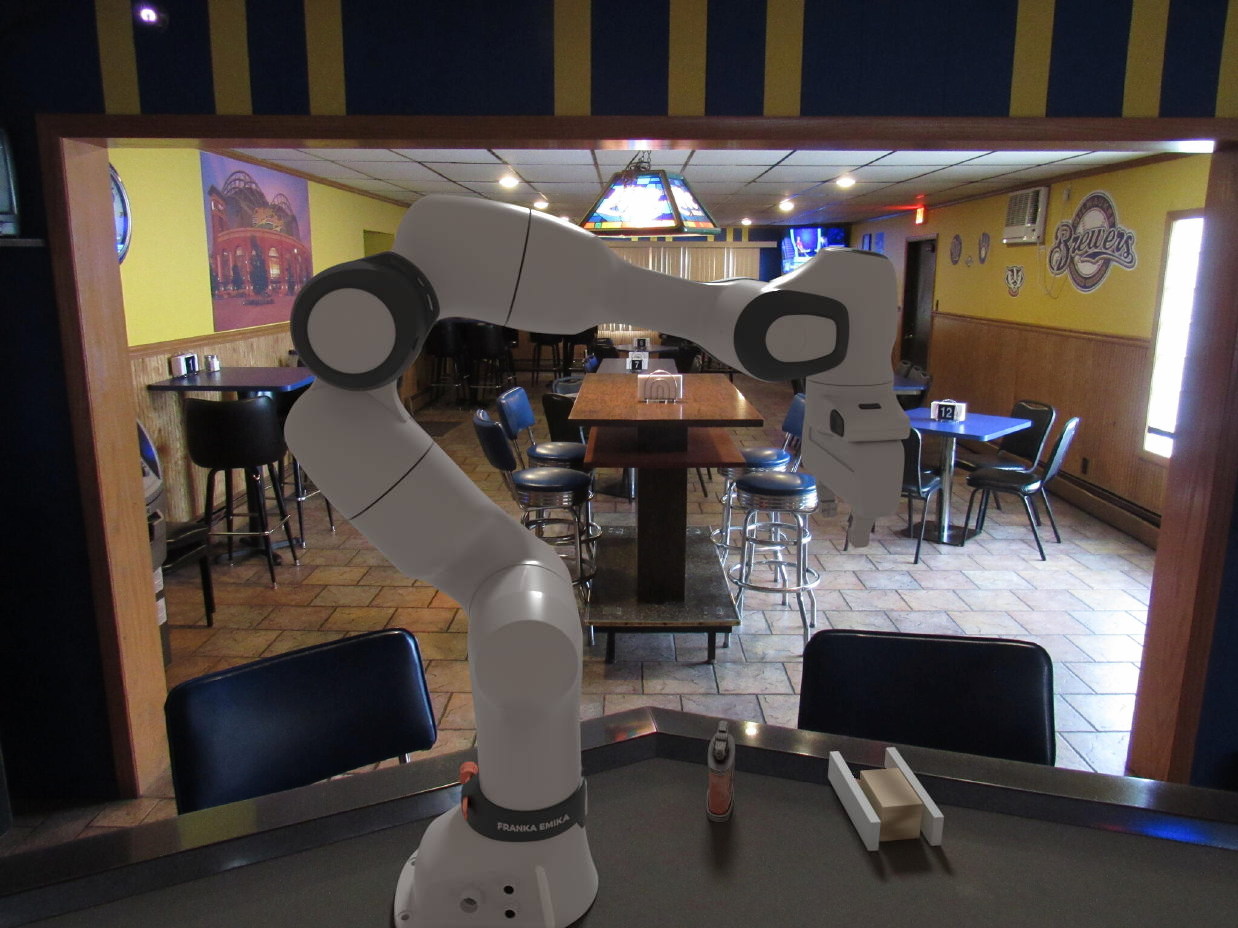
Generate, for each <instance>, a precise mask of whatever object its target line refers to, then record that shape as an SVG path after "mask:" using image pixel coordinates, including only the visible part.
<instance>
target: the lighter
mask: <svg viewBox="0 0 1238 928" xmlns="http://www.w3.org/2000/svg"><path fill="white" fill-rule="evenodd" d="M707 749H708V750H707V751H708V752H707V765H708V790H707V791H706V793H707V794H706V812H707V813H706V814H707V817H708V818H709V819H710V820H712V821H714V822H718V823H721V822H725V821H727V820H728V819H729V818H730V814H731V812H732V810H733V804H734V785H733V781H734V777H735V758H736V744H735V739H734V736H733V735H732V734H730V733H729V722H727V720H720V721H719V722H718V729H717V732H716V733H715V734H714V735H713V736H712V738H711V740H710V742H709V746H708V748H707Z"/></svg>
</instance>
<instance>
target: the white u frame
mask: <svg viewBox="0 0 1238 928" xmlns="http://www.w3.org/2000/svg"><path fill="white" fill-rule="evenodd" d="M884 754H885V755H884V765H883V767H884V766H885V768H886V769H890V768H898V769H899V770H900V772H901V773H902V774H903V776H904V777H905V779H906V780H907V782H908V783H909V784H910V786H911V787H912V789H913V790H914V792H915V793H916V794H917V796H918V797H919V799H920V800H921V802H922V803H923V809H922V818H921V827H920V832H921V833H922V834H923V836H924V837H925V839H926V840H927V841H928V844H929V845H930V847H934V846H941V844H942V838H943V837H942V836H943V828H944V819H945V815H943V813H942V812H941V810H940V809H939V807H938V806H937V805H936V804H935V802H934V800H933V799H932V798H931V796H930V795H929V793H928V792H927V791H926V789H925V788H924V787H923V785H922V783H921V782H920V781H919V779H918V778H917V777H916V775H915V774H914V772H913V771H912V769H911V768H910V767H909V765H908V764H907V763H906V761H905V760H904V759H903V756H901V754H900V752H899V751H898V749H897V748H896V747H895V746H893V747H886V748H885V753H884ZM852 774H853V773H852V771H851V770H850V768H849V767H848V764H847V762H845V759H844V758H843V756H842V755H841V753H840V751H839V750H837V751H835V750H834V751H829V759H828V772H827V778H828V780H829V782H830V784H831V785H832V787H833V789H834V791H835V793H836V795H837V796H838V798H839V800H840V802H841V804H842V806H843V807H844V809H845V812H846V814H847V815H848V816H849V819H850V820H851V822H852V824H853V826H854V828H855V829H856V831H857V833H858V834H859V837H860V839H861V840H862V842H863V844H864V845H865V847H866V849H867V851H868V852H873V851H879V844H880V841H879V835H880V824H881V821H880V820H879V818H878V816H877V815H876V813H875V811H874V810H873V808H872V806H871V805H870V803H869V801H868V800H867V798H866V796H865V795H864V793H863V791H862V790H861V788H860V786H859V785H858V783H857V781H856V780H855V778H854V776H853V775H852Z"/></svg>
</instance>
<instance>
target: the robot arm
mask: <svg viewBox="0 0 1238 928" xmlns="http://www.w3.org/2000/svg"><path fill="white" fill-rule="evenodd" d="M394 237H395V238H394V242H393V245H392V248H391V250H390V251H389V250H388V251H381V252H378V253H375V254H371V255H368V256H364V257H361V258H356V259H354V260H349V261H345V262H341V263H338V264H335V265H332V266H329V267H327V268H326V269H324V270H322V271H320V272H318V273H316V274H315V275H314V276H313V277H311V278H310V279H309V280H308V281H307V282H306V283H305V284H304V285H303V286H302V287H301V289H300V291H299V292H297V293H298V294H297V295H296V296H295V299H294V301H293V304H292V307H291V312H290V319H289V331H290V332H289V333H290V338H291V342H292V345H293V348H294V350H295V352H296V355H297V356H298V358H299V359H300V361H301V363H302V364H303V365H304V366H305V368H306V369H307V370H308V371H309V372H310V373H311V374H312V375H314V380H313V381H312V384H311V385H310V386H309V388H308V389H306V390H305V391H304V392H303V393H302V394H301V395H300V396H299V397H298V398H297V400H296V401H295V402H294V403H293V404H292V406H291V409H290V410H289V413H288V415H287V416H286V419H285V422H284V426H283V435H284V441H285V443H286V445H287V447H288V450H289V451H290V453H291V454H292V456H293V457H294V458H295V460H296V461H297V463H298V464H299V466H300V468H301V469H302V470H303V471H304V472H305V475H307V477H308V478H309V479H310V480H311V482H312V483H313V484H314V485H315V486H316V488H317V489H318V490H319V492H320V493H321V494H322V495H323V496H324V498H326V500H327V501H328V502H329V503H330V504H331V505H332V506H333V507H334V508H335V509H336V510H337V512H338V513H339V514H341V516H342V517H343V518H344V519H346V521H347V522H349V524H351V525H352V526H353V527H354V529H356V530H357V531H358V532H359V533H360V534H361V535H362V536H363V537H364V539H366V540H367V541H368V542H369V543H370V544H371V545H372V546H373V547H374V549H376V550H377V551H378V552H380V553H381V555H382V556H383V557H384V558H386V560H387V561H389V562H390V564H392V565H393V566H394V567H395V568H396V569H397V570H398V571H399V572H400V573H401V574H402V575H404V576H405V577H407V578H409V579H413V580H419V581H423V582H424V583H427V584H429V585H430V586H432V587H434V588H435V589H437V590H438V591H440V592H442V593H444V594H445V595H446V596H448V597H449V598H451V599H452V600H453V601H454V602H456V603H457V604H458V606H460V607H461V608H462V610H463V611H464V613H465V615H466V617H467V618H468V627H467V628H468V629H467V641H466V645H467V659H468V668H469V678H470V688H471V689H470V690H471V697H472V705H473V711H474V717H475V720H474V721H475V730H476V731H475V733H476V747H477V764H476V762H474V761H466V762H463V763H462V765H461V766H460V768H459V773H460V774H459V777H458V779H459V782H460V784H461V785H462V786H461V789H460V790H461V791H460V803H458V804H457V805H456V806H454V807H452V808H451V809H449V810H447V811H446V812H445V813H443V814H441V815H440V816H438V817H436V818H435V819H433V821H432V822H431V823H430V824H429V825H428V827H427V828H426V830H425V832H424V834H423V836H422V838H421V841H420V844H419V846H418V848H417V849H416V850H415V851H414V852H413V853H412V854H411V856H410V857H409V858H408V859H407V861H406V863H405V864H404V866H403V868H402V870H401V873H400V875H399V877H398V882H397V885H396V890H395V896H394V905H393V906H394V907H393V909H394V910H393V911H394V912H393V913H394V914H393V917H394V918H393V919H394V925H395V928H566V927H568V926H570V925H571V924H572V923H574V922H576V921H577V920H578V919H579V918H581V917H582V916H583V915H584V914H585V913H586V912H587V911H588V909H590V907H591V905H592V904H593V902H594V900H595V898H596V896H597V893H598V888H599V875H598V874H599V873H598V872H597V868H596V866H595V863H594V860H593V858H592V854H591V851H590V847H589V842H588V838H587V832H586V820H587V815H588V788H587V786H588V785H587V779H586V775H585V769H584V767H583V766H582V749H581V748H582V746H581V745H582V744H581V743H582V742H581V703H582V691H583V659H584V655H583V653H584V649H583V648H584V635H583V629H582V624H581V619H580V618H581V617H580V614H579V609H578V604H577V599H576V596H575V591H574V585H573V580H572V577H571V573H570V570H569V569H568V567H567V565H566V562H564V560H563V559H562V558H561V556H560V555H559V554H558V553H557V551H556V550H555V549H554V548H553V547H552V546H550V544H549V543H547V542H546V541H544V540H543V539H541V538H539V537H538V536H536V535H535V534H534V533H533V532H532V531H531V530H530V529H528V528H527V527H526V526H525V525H524V524H522V523H521V522H520V521H518V520H517V519H516V518H515V517H513V516H512V515H511V514H509V512H507V511H505V510H504V509H503V508H501V507H500V506H499V505H498V504H496V502H494V501H493V500H492V499H491V498H490V497H489V496H487V495H486V494H485V493H484V492H483V490H481V489H480V488H479V486H478V485H476V483H474V482H473V481H472V479H471V478H470V477H469V476H468V475H467V474H466V473H465V472H464V471H463V470H462V468H460V466H458V464H456V462H455V461H454V459H452V458H451V457H450V456H449V455H448V454H447V453H446V452H445V451H444V449H442V448H441V447H440V445H438V443H437V442H435V440H433V438H432V437H431V435H429V434H428V433H427V432H426V431H425V430H424V429H423V428H422V426H421V425H420V424H418V423H417V422H416V420H415V419H414V418H413V417H412V416H411V414H410V413H409V412H408V410H407V409H406V408H405V406H404V405H403V403H402V402H401V399H400V397H399V395H398V390H397V384H398V383H397V382H398V380H399V378H400V377H402V376H403V375H404V374H405V373H406V372H407V371H408V370H409V368H410V367H411V366H412V365H413V364H414V362H415V361H416V359H417V358H418V356H419V354H420V353H421V351H422V348H423V345H424V343H425V341H426V340H427V338H428V336H429V335H430V332H431V330H433V327H434V325H435V324H436V322H438V321H440V320H443V319H447V318H465V319H472V320H478V321H482V322H486V323H490V324H494V325H498V326H501V327H506V328H510V329H516V330H519V331H520V330H521V331H525V332H530V333H531V332H532V333H541V334H552V335H577V334H579V333H582V332H584V331H586V330H588V329H591V328H594V327H597V326H601V325H609V324H610V325H612V324H614V325H616V324H617V325H625V326H630V327H634V328H640V329H643V330H648V331H652V332H657V333H661V334H665V335H669V336H673V337H678V338H681V339H684V340H686V341H689V342H691V343H692V344H694V345H695V346H696V347H697V348H699V349H700V350H701V351H702V352H703V353H704V354H706V355H707V356H708V357H709V358H711V359H713V360H714V361H715V362H717V363H719V364H721V365H724V366H727V367H730V368H733V369H735V370H737V371H740V372H741V373H743V374H745V375H747V376H749V377H751V378H754V380H755V379H756V380H759V381H761V382H766V383H783V382H787V381H794V380H798V379H803V378H805V395H804V396H805V400H804V417H803V425H802V432H801V433H802V434H801V447H800V459H801V463H802V466H803V467H804V468H805V469H806V470H807V471H809V472H810V474H812V475H813V476H814V486H815V492H816V496H817V499H818V502H817V511H818V513H819V514H820V515H821V516H822V517H823V518H825V519H827V518H835V517H836V516H837V515H838V503H839V502H838V501H837V500H836V496H837V497H838V498H839V499H840V500H841V501H842V502H843V503H845V505H847V506H848V507H849V508H851V516H852V519H853V520H852V521H851V522H852V523H851V526H850V527H849V526H847V542H848V543H849V544H850V545H851V546H852V547H853V548H855V549H859V548H867V547H868V546H869V545H870V534H871V531H872V528H873V527H874V524H875V522H876V520H877V519H878V518H889V517H893V516H894V515H895V513H896V512H897V510H898V509H899V506H900V503H901V497H902V488H903V481H904V472H905V471H904V469H905V448H904V444H903V442H902V441H901V440H906V439H909V437H910V435H911V419H910V417H909V416H908V415H907V414H906V412H905V410H904V409H903V408H902V406H901V404H900V403H899V400H898V398H897V395H896V393H895V392H894V384H895V383H894V381H895V375H894V370H893V365H892V354H893V353H892V352H893V348H894V345H895V344H896V343H895V342H896V340H897V333H898V318H899V317H898V315H899V309H898V308H899V305H898V303H899V300H898V299H899V298H898V297H899V295H898V291H899V290H898V282H897V281H898V280H897V279H898V278H897V275H896V270H895V267H894V264H893V262H892V261H891V259H889V258H888V257H887V256H886V255H884V254H883V253H880V252H877V251H873V250H868V249H862V248H856V247H845V246H840V245H839V246H837V245H835V246H832V245H831V246H825V247H822V248H820V249H819V250H818V251H817V252H816V254H814V255H813V256H812V257H811V258H809V259H807V261H805V262H804V263H803V264H801V265H799V266H798V267H796V268H795V269H793V270H791V271H789V272H787V273H785V274H784V275H780V276H779V277H776V278H774V279H771V280H768V281H769V282H768V281H767V282H766V281H762V280H760V279H757V278H755V277H749V276H732V277H725V278H721V279H716V280H711V281H699V280H693V279H689V278H685V277H680V276H677V275H673V274H669V273H666V272H663V271H658V270H655V269H650V268H647V267H643V266H641V265H637V264H635V263H633V262H630V261H629V260H626V259H625V258H623V257H622V256H620V255H619V254H617V253H616V252H615V251H613V249H611V248H610V247H609V246H608V244H607V243H605V242H604V240H603V239H602V238H601V237H600V236H598V235H597V234H595V233H594V232H591V231H589V230H588V229H585V228H583V227H581V226H579V225H576V224H574V223H573V222H570V221H568V220H566V219H563V218H561V217H558V216H555V215H553V214H550V213H548V212H547V213H546V212H542V211H540V210H537V209H532V208H529V207H525V206H521V205H517V204H513V203H509V202H504V201H498V200H494V199H486V198H479V197H474V196H463V195H454V194H453V195H451V194H439V193H438V194H429V195H425V196H422V197H420V198H418V199H417V200H416V201H414V202H413V204H412V205H410V207H409V208H408V209H407V210H406V212H405V213H404V215H403V216H402V218H401V220H400V222H399V224H398V226H397V230H396V233H395V236H394Z"/></svg>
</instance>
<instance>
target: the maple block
mask: <svg viewBox="0 0 1238 928" xmlns="http://www.w3.org/2000/svg"><path fill="white" fill-rule="evenodd" d="M859 772H860V781H859V786H860V788H861V790H862V791H863V793H864V795H865V796H866V798H867V800H868V801H869V803H870V805H871V806H872V808H873V810H874V811H875V813H876V815H877V816H878V818H879V820H880V821H881V824H880V835H879V842H887V841H888V842H889V841H900V840H902V841H903V840H912V839H920V836H921V835H920V834H921V830H920V827H921V818H922V809H923V803H922V802H921V800H920V799H919V797H918V796H917V794H916V793H915V792H914V790H913V789H912V787H911V786H910V784H909V783H908V782H907V780H906V779H905V777H904V776H903V774H902V773H901V772H900V770H899V769H898V768H890V769H884V768H880V769H869V770H865V769H864V770H860V771H859Z"/></svg>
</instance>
